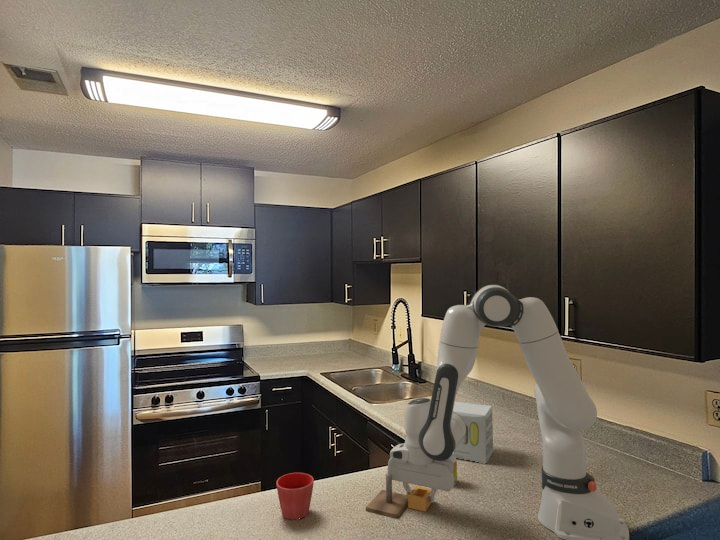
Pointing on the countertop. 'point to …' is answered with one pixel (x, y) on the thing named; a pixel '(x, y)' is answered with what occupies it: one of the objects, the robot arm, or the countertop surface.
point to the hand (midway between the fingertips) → (420, 498)
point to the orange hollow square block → (419, 498)
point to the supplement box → (475, 432)
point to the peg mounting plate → (388, 501)
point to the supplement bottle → (454, 467)
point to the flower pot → (295, 494)
